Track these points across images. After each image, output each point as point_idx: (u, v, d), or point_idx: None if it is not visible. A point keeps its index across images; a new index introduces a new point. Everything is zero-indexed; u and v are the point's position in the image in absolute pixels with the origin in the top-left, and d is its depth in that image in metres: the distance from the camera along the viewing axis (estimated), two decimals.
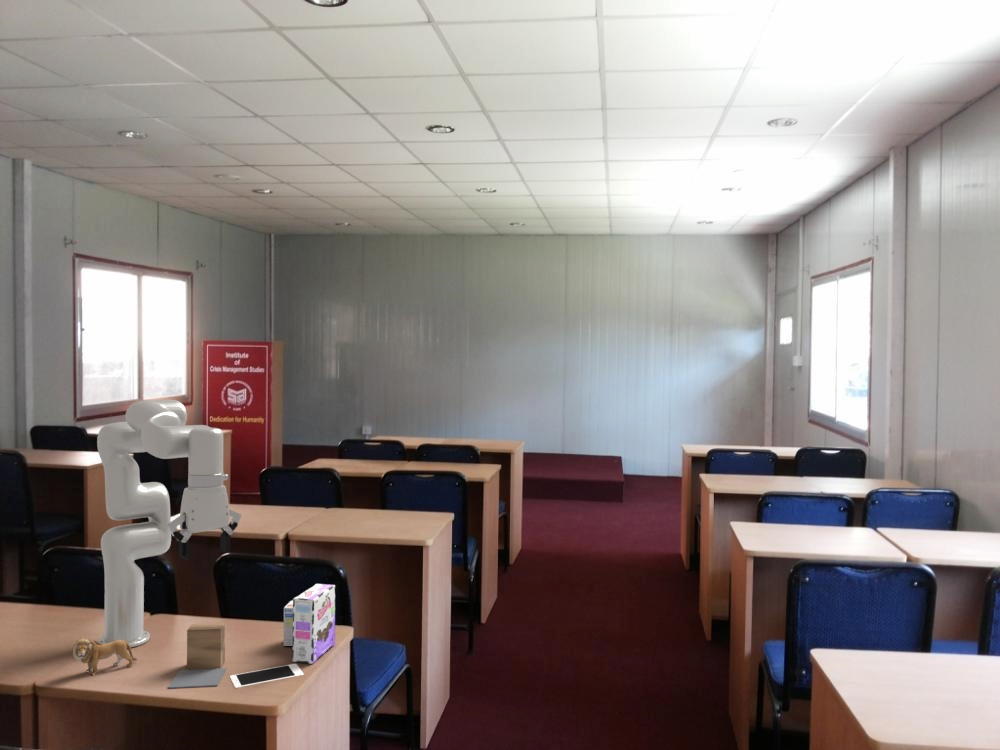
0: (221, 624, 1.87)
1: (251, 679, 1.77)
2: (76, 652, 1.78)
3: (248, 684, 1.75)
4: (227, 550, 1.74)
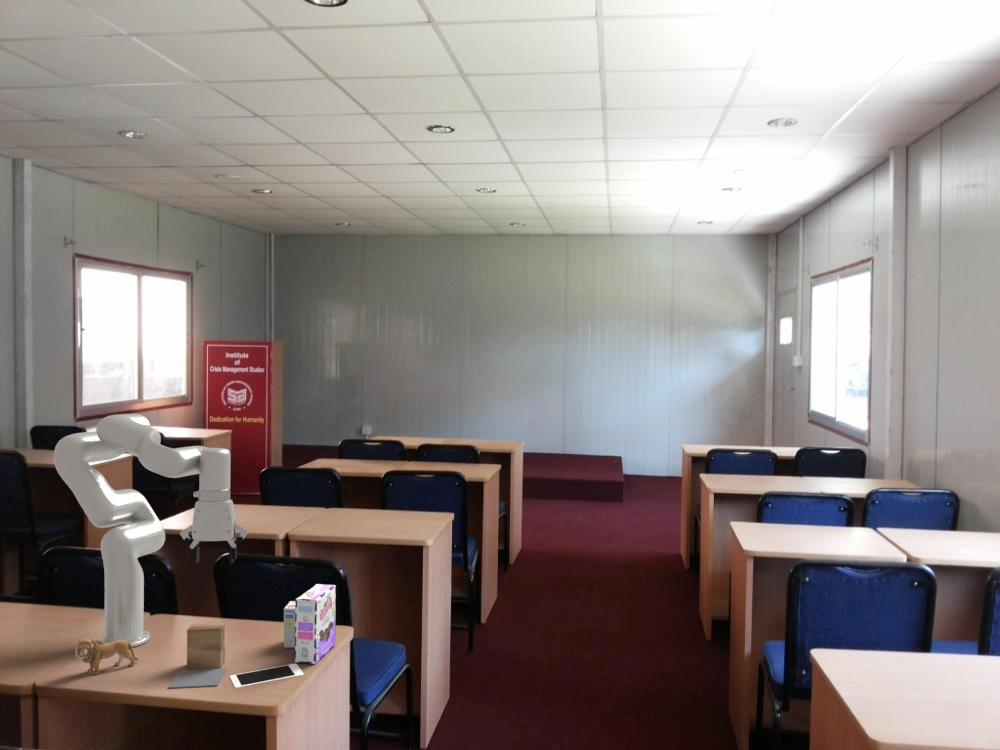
0: (221, 624, 1.87)
1: (251, 679, 1.77)
2: (78, 652, 1.78)
3: (248, 684, 1.75)
4: None
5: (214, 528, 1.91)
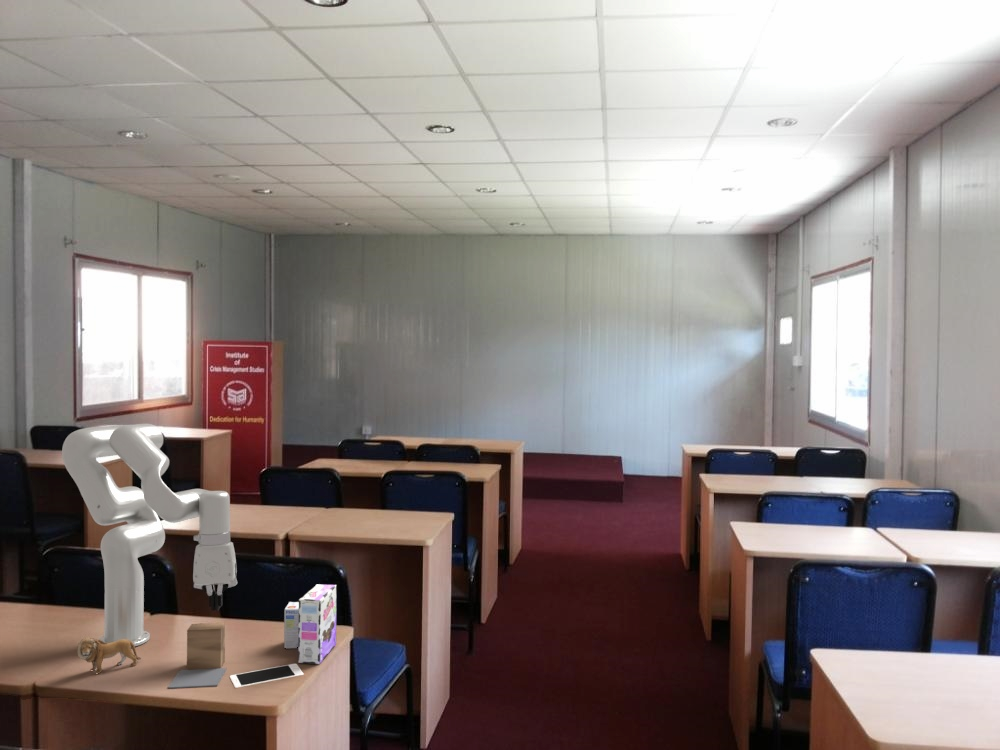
0: (221, 624, 1.87)
1: (251, 679, 1.77)
2: (81, 651, 1.78)
3: (248, 684, 1.75)
4: None
5: (215, 572, 1.91)
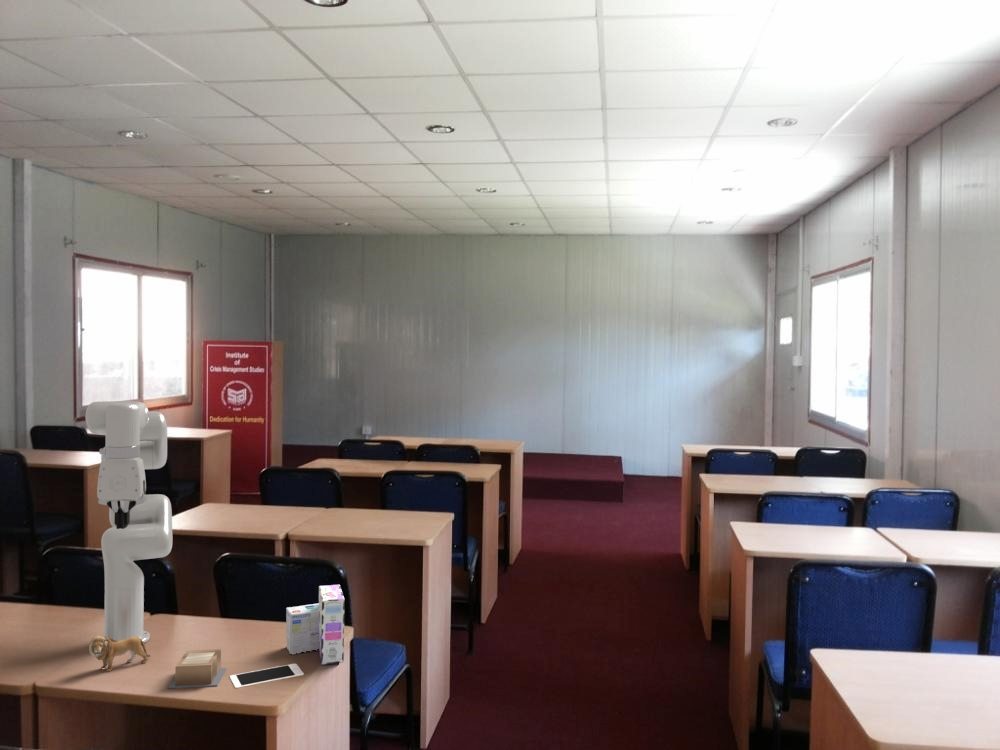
0: (208, 670, 1.74)
1: (251, 679, 1.77)
2: (92, 649, 1.80)
3: (248, 684, 1.75)
4: None
5: (121, 487, 1.80)
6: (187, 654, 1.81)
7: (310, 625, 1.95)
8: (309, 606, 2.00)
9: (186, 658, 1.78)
